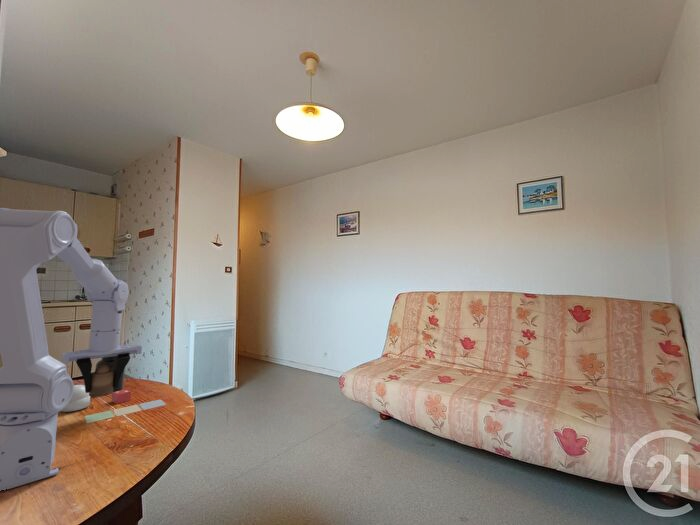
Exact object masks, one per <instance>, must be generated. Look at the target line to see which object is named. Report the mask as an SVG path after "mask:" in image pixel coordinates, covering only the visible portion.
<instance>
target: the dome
mask: <svg viewBox="0 0 700 525" xmlns="http://www.w3.org/2000/svg"><path fill="white" fill-rule="evenodd" d="M90 405H91V396H89V393H86V392H85V384H74V390H73V394H72V397H71V399H70V401H69V402H68V404H67V405H66V406H65V407H64V408H63V410H61V411H60V412H64V413H65V412H66V413H67V412H73V411H74V412H75V411H79V410H83V409H85V408H88V407H89V406H90Z"/></svg>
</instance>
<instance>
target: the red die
mask: <svg viewBox="0 0 700 525" xmlns="http://www.w3.org/2000/svg"><path fill="white" fill-rule="evenodd" d="M131 396H132V391H131V390H128V389H124V388H123V389H122V390H120V391H116V392H112V393H111V402H112V403H113V404H116V405H121V404H123V403H126V402H130V401H131Z"/></svg>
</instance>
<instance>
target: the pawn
mask: <svg viewBox="0 0 700 525" xmlns="http://www.w3.org/2000/svg"><path fill="white" fill-rule="evenodd" d="M95 369H96V370H95ZM95 369H94V371H93V372H92V371H91V378H90V382H91V389H90V392H89V396H90V397H94V398H95V397H103V396H104V397H105V396H107V395H110V394H111V395H112V392H113V387H114V372H115V370H111V368H110V366H108V365H100V366H98V367H97V368H96V367H95Z"/></svg>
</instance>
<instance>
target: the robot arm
mask: <svg viewBox="0 0 700 525" xmlns="http://www.w3.org/2000/svg"><path fill="white" fill-rule="evenodd" d="M56 256H57V257H58V258H59V259H60V260H62V261H63V263H66V264H67V265H68V266H69V267H71V268H72V271H71V275H72V277H73V279H74V280H75V281H76V282H77V283H78V284H80V285H81V287H82V288H83V290H84V292H85V295H86V296H85V297H86V300H87V301H88V302H90V303H91V316H90V328H89V329H90V331H89V344H88V348H87V349H79V350H74V351H65V352H62V355H61V360H58V359H56V358H54V357H52V356H51V355H50V352H49V345H48V339H47V337H48V336H47V332H46V325H45V320H44V319H45V318H44V312H43V306H42V301H41V300H42V299H41V292H40V286H39V280H38V273H37V272H38V271H37V269H38V268H39V266H41V264H42V263H45V262H48V261H50V260H52V259H53V258H55V257H56ZM129 294H130V291H129V285H128V283H127V282H126V281H123V279H117V278H116V277H115V276H114V274H113V273H112V272H111V270H109V269H108V267H107V266H106V265H105V263H104V262H103V261H102V260H101V259H96V258H91V256H90V255H89V253H88V252H87V250H86V249H85V247H84V246H83V244H82V243H81V242H80V240H79V239H78V224H77V223H76V222H75V221H74V219H73V218H72V216H71V215H70V214H69V212H66V211H64V210H34V209H17V208H16V209H13V208H8V207H7V208H6V207H0V357H1V362H2V366H1V367H0V491H1V490H4V491H6V489H7V490H10V489H13V488H16V487H20V486H23V485H26V484H30V483H33V482H37V481H39V480H42V479H46V478H49V477H53V476H56V475H57V474H59V472H60V471H59V466H58V467H54V468H52V463H53V462H54V461H55V453H56V452H55V451H56V439H57V438H56V437H57V428H58V417H59V416H58V415H59V412H62V411H61V410H63V408H64V407H65V406H66V405H67V404H68V402H69V401H70V399H71V397H72V394H73V390H74V385H75V384H74V381H73V379H72V377H71V376H70V374H69V373H68V369H67V364H68V363H70V362H75V363H76V365H77V367H78V370H80V373H81V375H82V379H83V383H84V386H85V392H86V393H89V392H90V389H91V382H90V378H91V373H92V367H93V362H92V360H94V359H95V360H96V359H102V358H104V357H112V356H114V370H115V372H114V388H117V387H118V383H119V380H120V377H121V375H122V372H123V370H124V369H125V370H126V367H127V365H128V363H129V362H130V359H131V355H139V354H140V355H141V354H142V352H143V351H142V348H143V345H141V344H133V345H132V344H131V345H121V335H122V334H121V333H122V321H123V320H122V318H123V311H124V310H125V308H126V303H127V300H128V298H129ZM114 353H115V354H114ZM66 363H67V364H66ZM1 492H2V491H1Z"/></svg>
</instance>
